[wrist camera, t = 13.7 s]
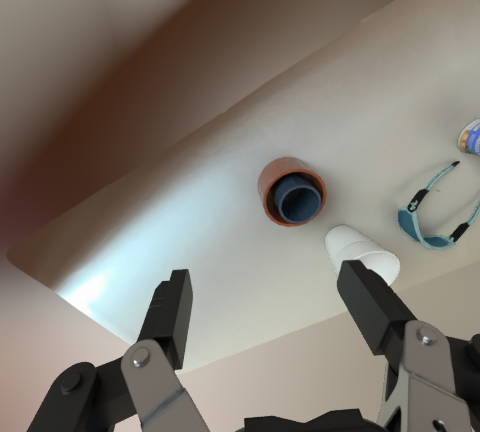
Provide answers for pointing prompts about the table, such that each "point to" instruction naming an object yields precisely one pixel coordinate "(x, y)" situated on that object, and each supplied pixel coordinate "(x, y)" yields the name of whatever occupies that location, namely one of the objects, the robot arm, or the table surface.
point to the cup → (360, 252)
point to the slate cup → (295, 198)
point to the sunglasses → (411, 225)
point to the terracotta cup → (278, 170)
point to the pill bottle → (470, 138)
